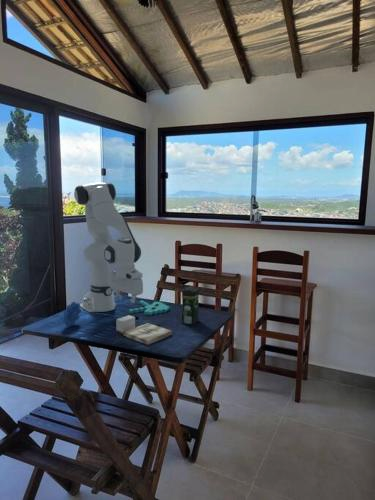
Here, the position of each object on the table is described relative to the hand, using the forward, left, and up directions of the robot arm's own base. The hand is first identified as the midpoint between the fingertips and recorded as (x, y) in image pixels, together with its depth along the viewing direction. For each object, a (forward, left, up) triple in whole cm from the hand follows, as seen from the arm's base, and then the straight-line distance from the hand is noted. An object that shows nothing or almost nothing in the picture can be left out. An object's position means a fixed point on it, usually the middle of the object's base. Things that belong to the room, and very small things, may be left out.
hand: (125, 301), depth 172 cm
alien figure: (-14, +32, -15) cm, 38 cm away
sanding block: (0, 0, -15) cm, 15 cm away
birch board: (+13, +2, -15) cm, 19 cm away
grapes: (-25, -14, -15) cm, 32 cm away
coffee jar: (+16, +30, -15) cm, 37 cm away
